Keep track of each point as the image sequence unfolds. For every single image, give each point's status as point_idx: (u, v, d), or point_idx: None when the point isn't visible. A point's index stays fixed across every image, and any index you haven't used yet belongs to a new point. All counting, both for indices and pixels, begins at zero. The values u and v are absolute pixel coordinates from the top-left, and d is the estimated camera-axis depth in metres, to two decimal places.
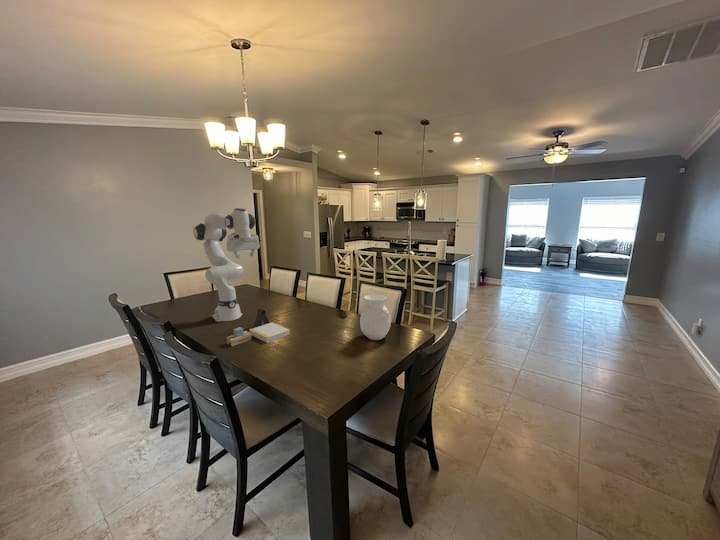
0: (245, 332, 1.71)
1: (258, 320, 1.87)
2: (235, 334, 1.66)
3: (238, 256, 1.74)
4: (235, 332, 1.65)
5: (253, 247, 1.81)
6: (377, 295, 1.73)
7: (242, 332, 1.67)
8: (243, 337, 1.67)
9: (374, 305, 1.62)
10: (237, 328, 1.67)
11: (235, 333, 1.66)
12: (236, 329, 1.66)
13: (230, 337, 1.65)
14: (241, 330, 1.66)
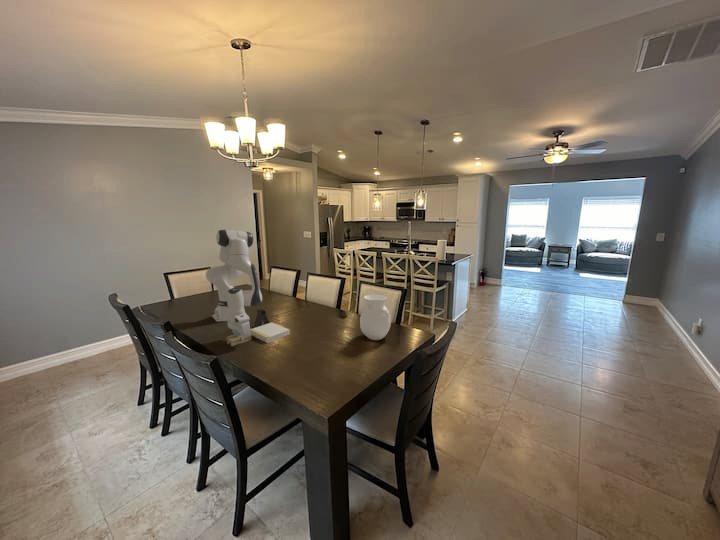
0: None
1: (258, 320, 1.87)
2: (235, 334, 1.66)
3: (243, 337, 1.66)
4: (235, 332, 1.65)
5: None
6: (377, 295, 1.73)
7: None
8: None
9: (374, 305, 1.62)
10: None
11: (235, 333, 1.66)
12: None
13: (230, 337, 1.65)
14: None
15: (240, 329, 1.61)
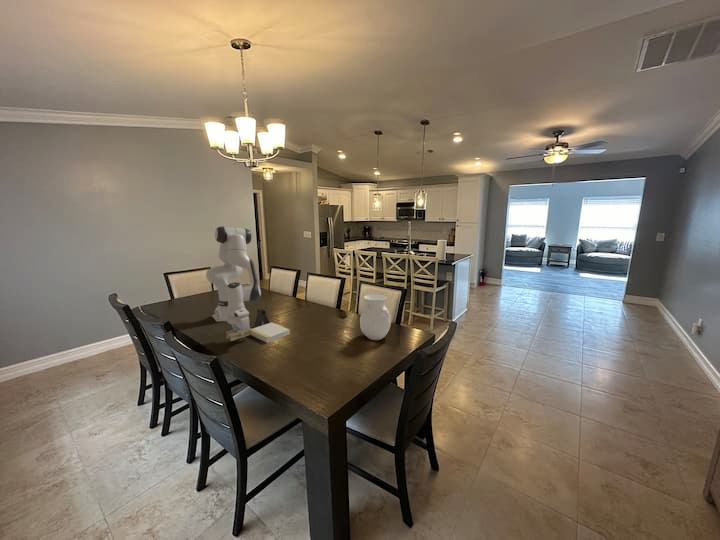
0: None
1: (258, 320, 1.87)
2: (234, 329, 1.65)
3: None
4: (234, 327, 1.65)
5: None
6: (377, 295, 1.73)
7: None
8: None
9: (374, 305, 1.62)
10: None
11: (234, 328, 1.65)
12: None
13: (229, 332, 1.64)
14: None
15: (239, 324, 1.61)
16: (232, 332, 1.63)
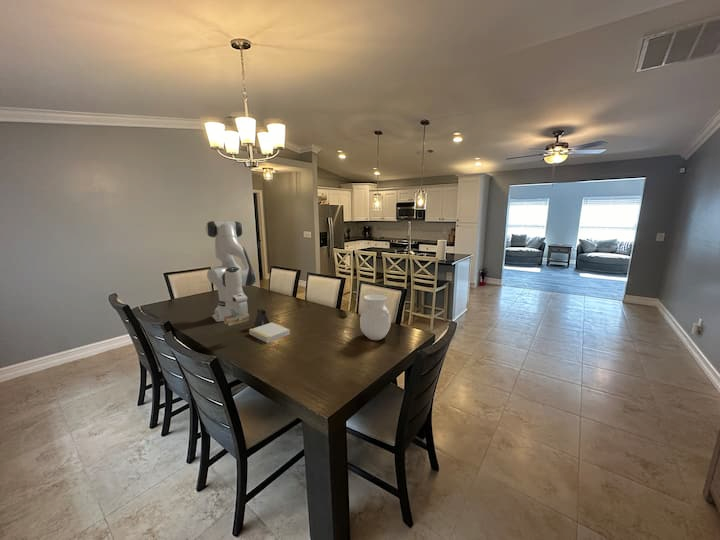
0: None
1: (258, 320, 1.87)
2: (232, 314, 1.64)
3: None
4: (232, 312, 1.63)
5: None
6: (377, 295, 1.73)
7: None
8: None
9: (374, 305, 1.62)
10: None
11: (232, 313, 1.63)
12: None
13: (227, 317, 1.62)
14: None
15: (238, 309, 1.59)
16: (230, 317, 1.62)
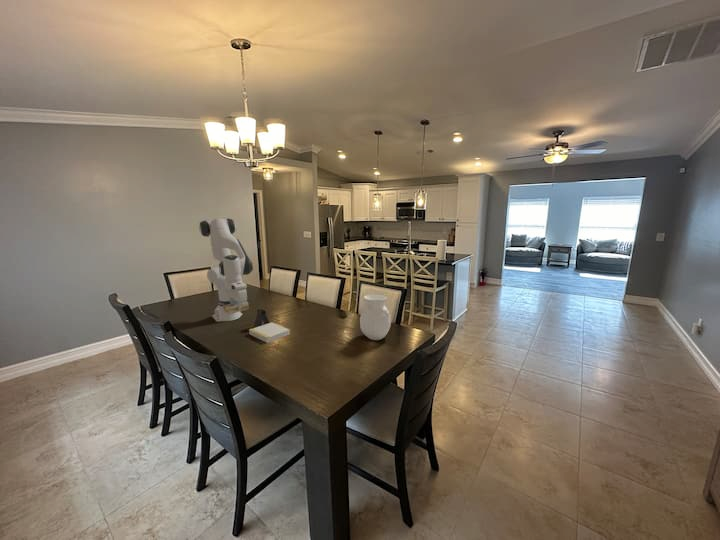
0: None
1: (258, 320, 1.87)
2: (232, 302, 1.62)
3: (240, 306, 1.63)
4: (232, 300, 1.62)
5: None
6: (377, 295, 1.73)
7: None
8: None
9: (374, 305, 1.62)
10: None
11: (232, 301, 1.62)
12: None
13: (227, 305, 1.61)
14: None
15: (237, 297, 1.58)
16: (229, 305, 1.60)
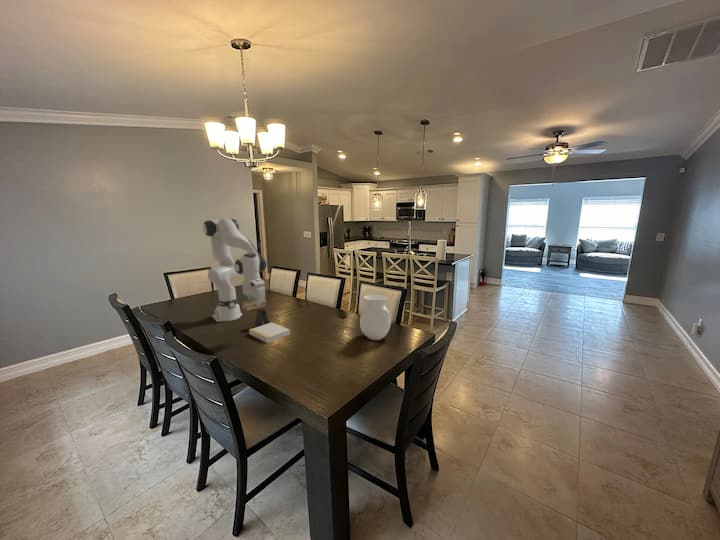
0: None
1: (258, 320, 1.87)
2: (250, 299, 1.68)
3: None
4: (250, 297, 1.67)
5: None
6: (377, 295, 1.73)
7: None
8: None
9: (374, 305, 1.62)
10: None
11: (250, 298, 1.67)
12: None
13: (245, 302, 1.66)
14: None
15: (256, 293, 1.63)
16: (248, 302, 1.66)
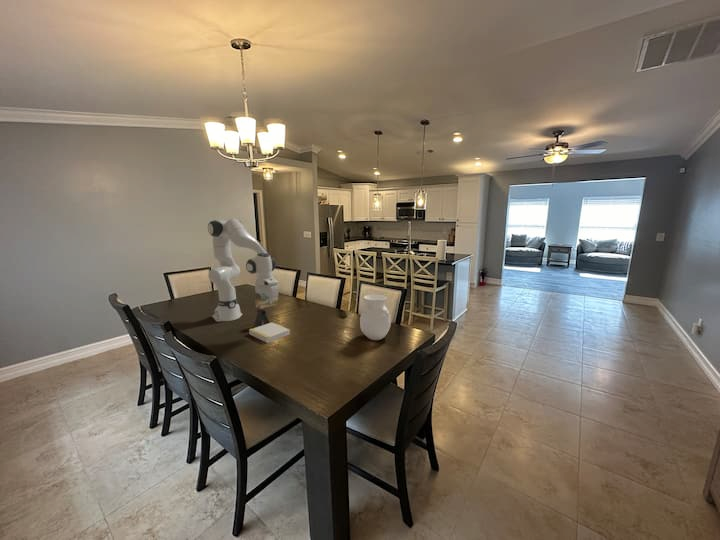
0: None
1: (258, 320, 1.87)
2: (263, 297, 1.72)
3: (271, 301, 1.72)
4: (263, 295, 1.71)
5: None
6: (377, 295, 1.73)
7: None
8: None
9: (374, 305, 1.62)
10: None
11: (263, 296, 1.72)
12: None
13: (259, 300, 1.71)
14: None
15: (269, 292, 1.67)
16: (261, 300, 1.70)
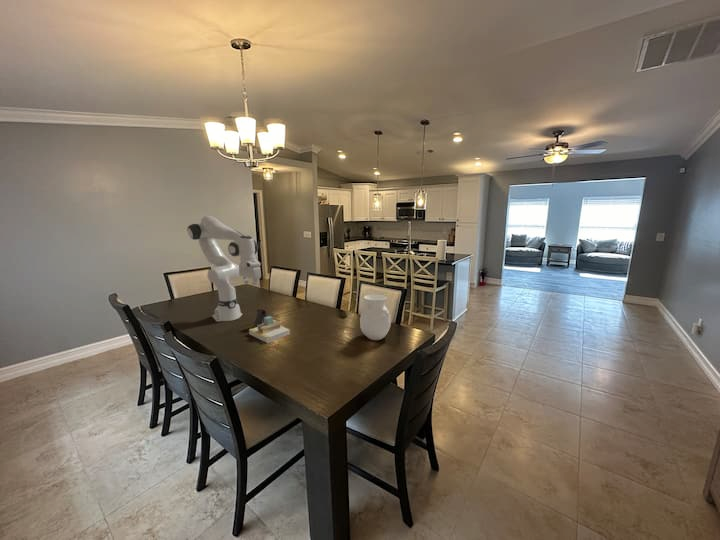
0: (274, 321, 1.80)
1: (258, 320, 1.87)
2: (265, 322, 1.75)
3: (255, 283, 1.73)
4: (265, 320, 1.74)
5: None
6: (377, 295, 1.73)
7: (272, 321, 1.76)
8: (273, 325, 1.76)
9: (374, 305, 1.62)
10: (267, 317, 1.76)
11: (265, 321, 1.75)
12: (266, 317, 1.75)
13: (261, 325, 1.74)
14: (271, 318, 1.75)
15: (251, 274, 1.69)
16: (263, 325, 1.73)
